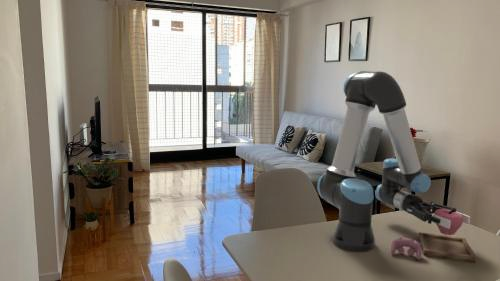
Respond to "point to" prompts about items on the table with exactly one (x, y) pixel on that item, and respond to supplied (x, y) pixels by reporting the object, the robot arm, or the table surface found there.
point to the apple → (453, 217)
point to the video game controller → (406, 242)
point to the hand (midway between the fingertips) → (459, 222)
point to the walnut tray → (446, 247)
